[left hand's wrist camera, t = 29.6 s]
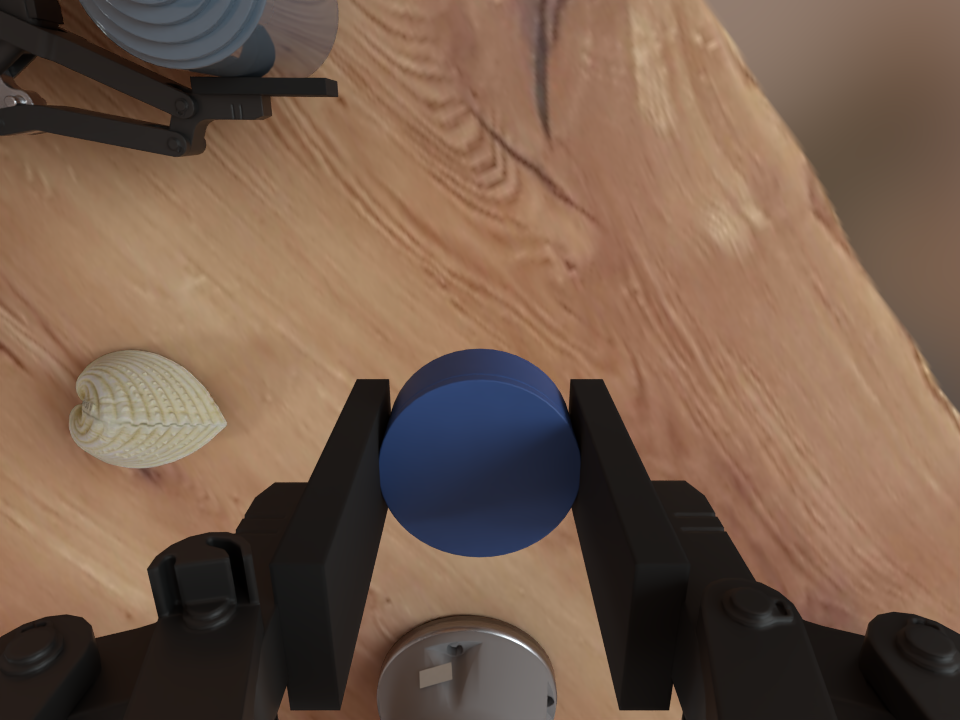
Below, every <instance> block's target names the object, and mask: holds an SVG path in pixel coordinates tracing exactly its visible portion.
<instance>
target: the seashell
mask: <svg viewBox="0 0 960 720" xmlns="http://www.w3.org/2000/svg"><path fill="white" fill-rule="evenodd" d="M76 391H77V394H78V396H79V398H80V399H81V400H82V401H83V403H82V404H79V405H77V406H75V407H74V408H73V409H72V411H71V413H70V415H69V430H70V433H71V437H72V438H73V440H74V441H75V443H76V444H77V445H78V446H79V447H80V448H81V449H82V450H84V451H85V452H88V453H89V454H91V455H92V456H94V457H96V458H97V459H99V460H101V461H104V462H106V463H109V464H112V465H116V466H121V467H127V468H149V467H157V466H161V465H164V464H168V463H171V462H174V461H177V460H179V459H181V458H184V457H186V456H188V455H190V454H191V453H193V452H195V451H196V450H198V449H200V448H201V447H202V446H204V445H205V444H207V443H208V442H209V441H210V440H211V439H213V438H214V437H215V436H216V435H217V434H218V433H219V432H220V431H221V430H222V429H224V428H225V427H226V426H227V422H226V420H225V418H224V416H223V415H222V413H221V412H220V409H219V407H218V406H217V405H216V403H215V402H214V400H213V398H212V397H211V396H210V394H209V392H208V391H207V390H206V388H205V387H204V386H203V385H202V384H201V383H200V382H199V381H198V380H197V379H196V378H195V377H194V376H193V375H192V374H191V373H190V372H189V371H187V370H186V369H185V368H184V367H183V366H181V365H179V364H177V363H175V362H174V361H172V360H170V359H167V358H166V357H163V356H161V355H158V354H155V353H151V352H146V351H140V350H124V351H116V352H112V353H109V354H106V355H104V356H101V357H99V358H98V359H96V360H94V361H93V362H92V363H90V364H89V365H88V366H87V367H86V368H85V369H84V371H83V372H82V373H81V374H80V375H79V377H78V379H77V381H76Z"/></svg>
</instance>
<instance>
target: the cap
mask: <svg viewBox="0 0 960 720" xmlns="http://www.w3.org/2000/svg"><path fill="white" fill-rule="evenodd" d="M580 465H581V454H580V449H579V446H578V442H577V439H576V436H575V432H574V429H573V426H572V423H571V419H570V416H569V413H568V409H567V406H566V403H565V401H564V399H563V397H562V395H561V393H560V391H559V390H558V388H557V387H556V385H555V384H554V383H553V381H552V380H551V379H550V378H549V377H548V376H547V375H546V374H545V373H544V372H543V371H541V370H540V369H539V368H538V367H536V366H535V365H533V364H532V363H530V362H529V361H527V360H525V359H522V358H520V357H518V356H516V355H513V354H510V353H507V352H503V351H497V350H491V349H468V350H462V351H457V352H453V353H450V354H447V355H444V356H441V357H439V358H437V359H435V360H433V361H431V362H430V363H428V364H426V365H425V366H423V367H422V368H421V369H419V370H418V371H417V372H416V373H415V374H413V376H412V377H411V378H410V379H409V380H408V381H407V382H406V383H405V385H404V386H403V388H402V389H401V390H400V392H399V394H398V396H397V398H396V400H395V402H394V405H393V408H392V411H391V414H390V418H389V421H388V424H387V427H386V431H385V434H384V437H383V441H382V444H381V447H380V451H379V471H380V486H381V492H382V495H383V497H384V500H385V502H386V504H387V506H388V508H389V509H390V511H391V513H392V514H393V516H394V517H395V518H396V519H397V521H398V522H399V523H400V524H401V525H402V526H403V527H404V528H405V529H406V530H407V531H408V532H409V533H410V534H412V535H413V536H415V537H416V538H417V539H419V540H420V541H422V542H424V543H426V544H428V545H429V546H431V547H434V548H436V549H439V550H441V551H444V552H448V553H451V554H455V555H461V556H467V557H492V556H499V555H505V554H508V553H512V552H516V551H518V550H521V549H523V548H526V547H528V546H530V545H532V544H534V543H536V542H538V541H539V540H541V539H542V538H544V537H545V536H546V535H548V534H549V533H550V532H551V531H552V530H554V529H555V528H556V527H557V526H558V525H559V524H560V522H561V521H562V520H563V519H564V518H565V516H566V515H567V513H568V512H569V510H570V509H571V507H572V505H573V503H574V501H575V499H576V497H577V494H578V490H579V480H580Z"/></svg>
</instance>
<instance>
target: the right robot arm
mask: <svg viewBox="0 0 960 720" xmlns="http://www.w3.org/2000/svg"><path fill="white" fill-rule="evenodd" d="M59 24H64V23H63V18H62V13H61V8H60V5H59V3H58V1H57V0H0V135H1V136H5V135H36V134H41V133H47V132H48V133H54V134H59V135H64V136H69V137H74V138H79V139H85V140H90V141H95V142H100V143H105V144H111V145H116V146H121V147H126V148H131V149H137V150H142V151H147V152H152V153H157V154H163V155H168V156H173V157H181V156H190V155H198V154H201V153H203V152H204V150H205V148H206V140H205V139H204V136H205V131H206V128H207V126H208V124H209V123H210V122H211V121H213V120H218V119H230V120H264V119H266V118H268V117H271V116H272V110H271V100H270V96H286V97H338V86H337V81H334V80H331V79H327V78H277V77H190V80H191V87H192V89H190V88H187V87H185V86H183V85H181V84H179V83H177V82H174V81H172V80H170V79H168V78H166V77H164V76H161V75H159V74H157V73H155V72H153V71H151V70H148V69H146V68H144V67H142V66H140V65H137V64H135V63H133V62H131V61H129V60H127V59H124V58H122V57H120V56H118V55H116V54H114V53H111V52H109V51H107V50H105V49H103V48H101V47H98V46H96V45H94V44H92V43H90V42H88V41H87V40H86V39H84V38H82V37H80V36H78V35H75V34H73V33H71V32H69V31H67V30H65V29H62V28H60V27H59ZM37 56H39V57H42V58H45V59H48V60H51V61H54V62H56V63H59V64H61V65H63V66H65V67H67V68H70V69H72V70H74V71H76V72H79V73H81V74H83V75H85V76H87V77H90V78H92V79H94V80H96V81H98V82H101V83H103V84H105V85H107V86H110V87H112V88H114V89H116V90H118V91H121V92H123V93H125V94H127V95H129V96H132V97H134V98H136V99H138V100H140V101H143V102H145V103H147V104H149V105H152V106H154V107H156V108H158V109H160V110H163V111H165V112H167V113H169V114H171V115H172V116H171V121H170V126H166V125H161V124H156V123H151V122H146V121H140V120H135V119H130V118H125V117H120V116H115V115H110V114H105V113H100V112H94V111H89V110H84V109H79V108H74V107H67V106H50V105H47V102H46V101H45V100H44V99H43V98H41V96H40V95H39V94H37V93H36V92H34V91H30V90H24V89H22V88H20V87H19V86H18V85H17V84H16V83H15V81H14V78H15V77H16V76H17V75H18V74H19V73H20V72H21V71H22V70H23V69H25V68H26V67H27V66H28V65H29V64H30V63H31V62H32V61H33V60H34V59H35V58H36V57H37Z"/></svg>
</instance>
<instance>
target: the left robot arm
mask: <svg viewBox="0 0 960 720" xmlns="http://www.w3.org/2000/svg"><path fill="white" fill-rule="evenodd" d="M390 414H391V404H390V387H389V379H357V380H356V382H355V384H354V387H353V389H352V391H351V393H350V395H349V397H348V399H347V401H346V403H345V405H344V408H343V410H342V412H341V414H340V416H339V418H338V420H337V422H336V424H335V427H334V429H333V431H332V433H331V435H330V437H329V439H328V441H327V443H326V445H325V448H324V450H323V452H322V454H321V456H320V458H319V460H318V462H317V464H316V467H315V469H314V471H313V473H312V475H311V477H310V479H309V481H308V482H275V483H274V484H272V485H271V486H270V487H268V488H267V489H266V490H264V491H263V492H262V493H261V494H259V495H258V496H257V497H255V499H254V500H253V502H252V504H251V505H250V507H249V509H248V510H247V512H246V514H245V518H244V519H242V521H241V522H240V524H239V526H238V527H237V529H236V534H232V533H229V532H209V533H204V534H200V535H195V536H191V537H188V538H186V539H184V540H181V541H179V542H177V543H175V544H173V545H171V546H169V547H168V548H167V549H165V550H164V551H163V552H161V553H160V554H159V555H157V556H156V557H155V559H154V560H153V561H152V563H151V564H150V566H149V567H148V568H147V571H148V575H149V580H150V584H151V588H152V592H153V596H154V601H155V605H156V609H157V613H158V621H157V622H156V623H153V624H150V625H147V626H144V627H140V628H137V629H133V630H128V631H124V632H120V633H116V634H111V635H107V636H103V637H99V638H95V636H94V633H93V629H92V626H91V625H90V624H89V623H88V622H87V621H86V620H85V619H84V618H82V617H78V616H72V615H67V614H66V615H58V616H49V617H44V618H41V619H38V620H35V621H32V622H29V623H26V624H23V625H22V626H20V627H18V628H16V629H14V630H12V631H11V632H9V633H7V634H5V635H3V636H1V637H0V720H278V714H277V712H278V709H279V706H280V703H281V700H282V698H283V695H284V692H285V689H286V686H287V690H288V697H289V703H290V710H340V709H341V704H342V700H343V696H344V692H345V688H346V683H347V679H348V675H349V671H350V666H351V662H352V658H353V654H354V649H355V645H356V641H357V637H358V633H359V628H360V624H361V620H362V616H363V611H364V607H365V603H366V599H367V595H368V590H369V586H370V582H371V578H372V573H373V569H374V565H375V561H376V556H377V552H378V548H379V544H380V540H381V535H382V531H383V527H384V523H385V518H386V514H387V510H388V506H387V504H386V502H385V500H384V497H383V495H382V492H381V486H380V471H379V451H380V447H381V444H382V441H383V437H384V434H385V431H386V427H387V424H388V421H389V418H390ZM569 416H570V419H571V423H572V426H573V429H574V432H575V436H576V439H577V442H578V446H579V449H580V454H581V465H580V480H579V490H578V494H577V497H576V499H575V501H574V503H573V505H572V512H573V516H574V520H575V524H576V529H577V533H578V537H579V541H580V545H581V550H582V554H583V558H584V562H585V567H586V571H587V575H588V579H589V583H590V588H591V592H592V596H593V600H594V605H595V609H596V613H597V617H598V622H599V626H600V630H601V634H602V638H603V643H604V647H605V651H606V655H607V660H608V664H609V668H610V672H611V677H612V681H613V685H614V689H615V693H616V698H617V702H618V706H619V710H669V707H670V701H671V694H672V687H673V684H674V687H675V690H676V693H677V696H678V699H679V702H680V704H681V707H682V710H683V714H682V720H960V634H958V633H957V632H955V631H953V630H951V629H949V628H947V627H945V626H944V625H942V624H940V623H938V622H936V621H933V620H930V619H927V618H924V617H921V616H918V615H915V614H908V613H899V612H890V613H885V614H880V615H877V616H876V617H875V618H874V619H873V620H872V621H870V622H869V624H868V627H867V631H866V634H865V636H863V635H859V634H855V633H851V632H846V631H842V630H838V629H833V628H829V627H825V626H821V625H818V624H814V623H811V622H808V621H805V620H803V619H802V617H801V616H800V614H799V612H798V611H797V609H796V608H795V606H794V604H793V603H792V602H790V601H789V600H788V599H787V598H786V597H784V596H783V595H782V594H781V593H780V592H778V591H776V590H774V589H772V588H770V587H768V586H766V585H764V584H762V583H760V582H756V580H755V579H754V577H753V575H752V574H751V572H750V570H749V569H748V567H747V565H746V564H745V562H744V560H743V559H742V557H741V555H740V554H739V552H738V550H737V549H736V547H735V545H734V544H733V542H732V540H731V539H730V537H729V535H728V534H727V532H724V527H723V525H722V524H721V522H720V520H719V519H718V517H715V512H714V510H713V509H712V507H711V505H710V504H709V502H708V500H707V499H706V497H705V496H704V495H703V494H702V493H700V492H699V491H698V490H697V489H695V488H694V487H693V486H691V485H690V484H689V483H687V482H686V481H651V480H650V478H649V476H648V474H647V472H646V470H645V467H644V465H643V463H642V461H641V459H640V457H639V455H638V453H637V451H636V448H635V446H634V444H633V442H632V440H631V438H630V436H629V434H628V432H627V429H626V427H625V425H624V423H623V421H622V419H621V417H620V415H619V413H618V411H617V408H616V406H615V404H614V402H613V400H612V398H611V396H610V394H609V392H608V389H607V387H606V385H605V383H604V381H603V379H571V380H570V397H569ZM556 704H557V691H556V683H555V676H554V671H553V667H552V664H551V661H550V659H549V657H548V655H547V654H546V652H545V651H544V649H543V648H542V647H541V646H540V645H539V644H538V643H537V642H536V641H535V640H534V639H533V638H532V637H531V636H530V635H528V634H527V633H525V632H524V631H522V630H520V629H519V628H517V627H515V626H513V625H510V624H508V623H505V622H503V621H500V620H496V619H492V618H487V617H480V616H453V617H446V618H442V619H437V620H434V621H431V622H428V623H425V624H423V625H421V626H419V627H417V628H415V629H413V630H411V631H410V632H408V633H407V634H405V635H404V636H403V637H402V638H400V639H399V640H398V641H397V642H396V643H395V644H394V646H393V647H392V648H391V649H390V651H389V652H388V654H387V655H386V657H385V659H384V661H383V664H382V667H381V672H380V677H379V683H378V688H377V705H378V712H379V716H380V720H554V716H555V710H556Z"/></svg>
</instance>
